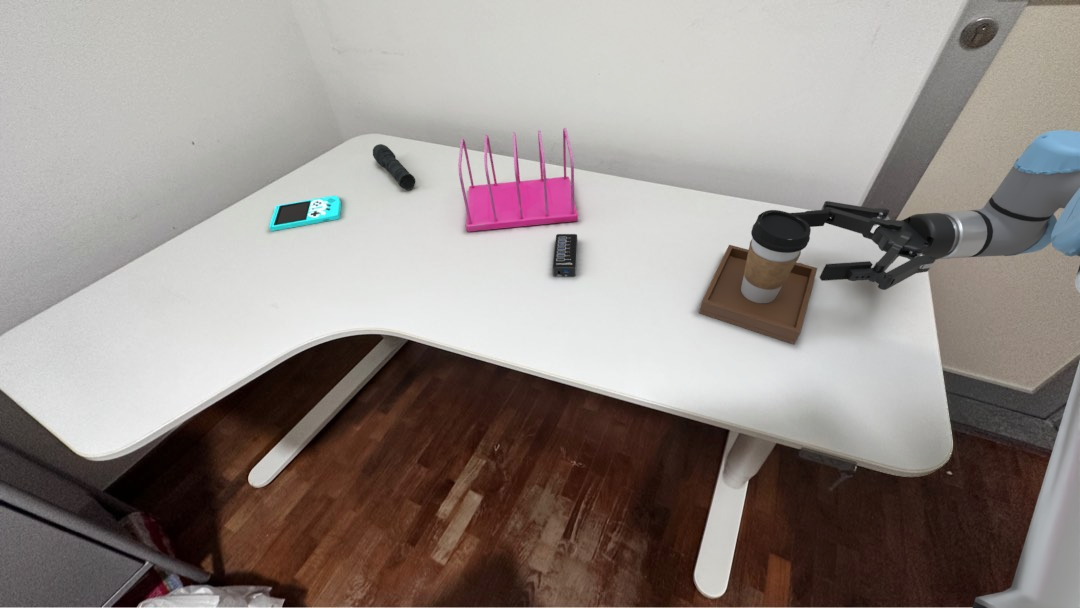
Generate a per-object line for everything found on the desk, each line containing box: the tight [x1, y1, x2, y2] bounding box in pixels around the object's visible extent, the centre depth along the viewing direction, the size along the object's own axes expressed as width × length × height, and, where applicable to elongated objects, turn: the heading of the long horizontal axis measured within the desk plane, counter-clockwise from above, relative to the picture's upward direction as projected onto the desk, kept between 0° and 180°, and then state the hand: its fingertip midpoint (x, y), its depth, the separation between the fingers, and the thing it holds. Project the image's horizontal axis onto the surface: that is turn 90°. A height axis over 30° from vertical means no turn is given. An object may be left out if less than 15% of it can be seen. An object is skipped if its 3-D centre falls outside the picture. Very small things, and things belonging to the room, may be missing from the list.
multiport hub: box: [552, 233, 578, 278], centre depth 93 cm, size 4×11×2 cm, turn 175°
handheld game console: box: [268, 195, 342, 232], centre depth 111 cm, size 10×16×1 cm, turn 103°
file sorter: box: [457, 127, 579, 233], centre depth 103 cm, size 17×25×16 cm
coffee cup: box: [741, 209, 812, 303], centre depth 76 cm, size 8×8×15 cm
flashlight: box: [372, 143, 417, 191], centre depth 121 cm, size 5×21×5 cm, turn 33°
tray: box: [698, 244, 818, 345], centre depth 81 cm, size 18×16×3 cm
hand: (804, 245), depth 74 cm, fingers open, 13 cm apart
